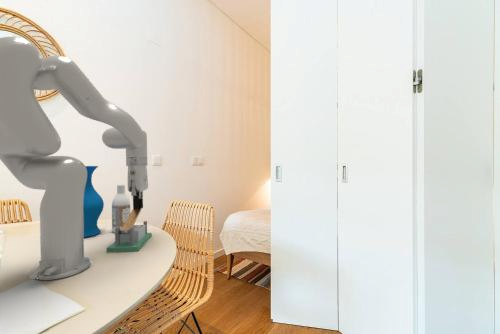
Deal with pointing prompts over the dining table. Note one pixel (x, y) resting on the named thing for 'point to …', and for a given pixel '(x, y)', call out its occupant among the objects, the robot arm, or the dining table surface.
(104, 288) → the dining table surface
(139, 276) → the dining table surface
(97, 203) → the vase
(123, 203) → the bath foam
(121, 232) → the tan wooden bar
